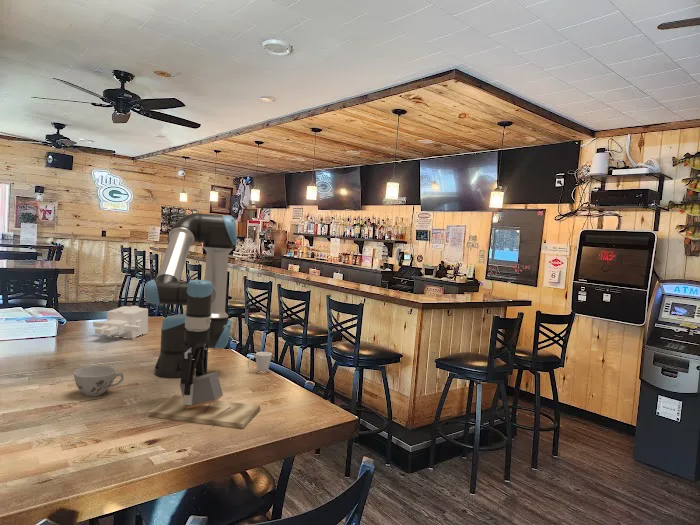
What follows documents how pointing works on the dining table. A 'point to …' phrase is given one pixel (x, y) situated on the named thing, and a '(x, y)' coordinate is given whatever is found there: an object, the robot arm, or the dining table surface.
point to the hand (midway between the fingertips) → (192, 400)
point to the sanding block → (205, 390)
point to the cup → (262, 361)
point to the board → (207, 412)
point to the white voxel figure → (124, 322)
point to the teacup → (96, 379)
